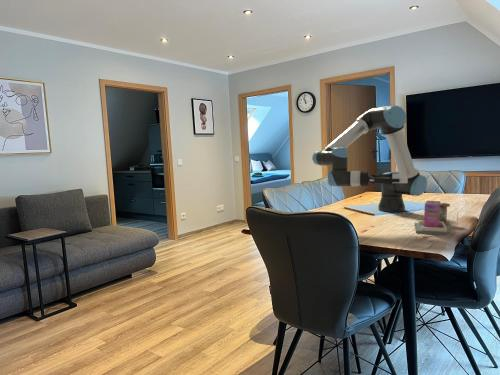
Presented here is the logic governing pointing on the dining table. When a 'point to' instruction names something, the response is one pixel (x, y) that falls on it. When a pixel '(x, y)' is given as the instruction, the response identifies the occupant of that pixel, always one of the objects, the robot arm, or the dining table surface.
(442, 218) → the bobbin
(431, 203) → the box
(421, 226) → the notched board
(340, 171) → the robot arm
